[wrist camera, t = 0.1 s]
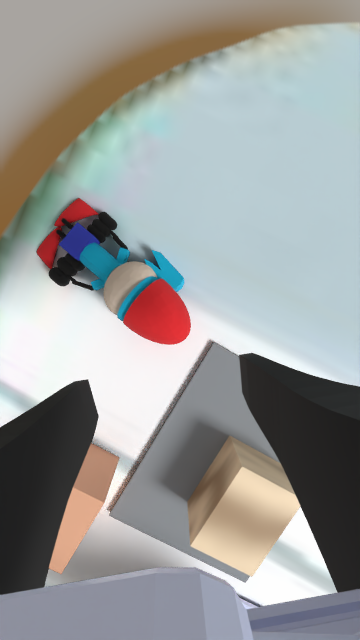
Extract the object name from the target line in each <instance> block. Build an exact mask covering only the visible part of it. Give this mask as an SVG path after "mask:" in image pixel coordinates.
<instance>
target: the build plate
mask: <svg viewBox="0 0 360 640" xmlns="http://www.w3.org/2000/svg"><path fill="white" fill-rule="evenodd" d="M229 436H232V437H233V438H235V439H237V440H239V441H241V442H243V443H244V444H246V445H248V446H250V447H252V448H254V449H255V450H257V451H259V452H261V453H263V454H264V455H266V456H268V457H270V458H272V459H274V460H275V461H277V462H279V463H280V461H279V460H278V458H277V456H276V454H275V452H274V451H273V449H272V447H271V446H270V444H269V442H268V441H267V439H266V437H265V436H264V434H263V432H262V431H261V429H260V427H259V426H258V424H257V422H256V421H255V419H254V417H253V415H252V414H251V412H250V410H249V408H248V405H247V403H246V401H245V398H244V396H243V393H242V384H241V372H240V361H239V356H237V355H235V354H234V353H232V352H230V351H228V350H227V349H225V348H223V347H221V346H220V345H218V344H216V343H215V342H213V344H212V345H211V347H210V349H209V350H208V352H207V353H206V355H205V357H204V358H203V360H202V362H201V363H200V365H199V367H198V368H197V370H196V372H195V373H194V375H193V377H192V378H191V380H190V381H189V383H188V385H187V386H186V388H185V390H184V391H183V393H182V395H181V396H180V398H179V400H178V401H177V403H176V404H175V406H174V408H173V409H172V411H171V413H170V414H169V416H168V418H167V419H166V421H165V423H164V424H163V426H162V428H161V429H160V431H159V432H158V434H157V436H156V437H155V439H154V441H153V442H152V444H151V446H150V447H149V449H148V451H147V452H146V454H145V455H144V457H143V459H142V460H141V462H140V464H139V465H138V467H137V469H136V470H135V472H134V474H133V475H132V477H131V479H130V480H129V482H128V483H127V485H126V487H125V488H124V490H123V492H122V493H121V495H120V497H119V498H118V500H117V502H116V503H115V505H114V506H113V508H112V510H111V511H110V514H109V516H111V517H113V518H115V519H117V520H119V521H121V522H123V523H125V524H127V525H129V526H131V527H133V528H135V529H137V530H139V531H141V532H143V533H145V534H147V535H149V536H151V537H154V538H156V539H158V540H160V541H162V542H164V543H166V544H168V545H170V546H172V547H174V548H176V549H178V550H180V551H182V552H184V553H186V554H188V555H190V556H192V557H194V558H196V559H198V560H200V561H202V562H204V563H206V564H208V565H210V566H212V567H214V568H217V569H219V570H221V571H223V572H225V573H227V574H229V575H231V576H233V577H235V578H237V579H239V580H241V581H243V582H245V583H246V581H247V580H248V578H249V577H250V576H249V575H247V574H245V573H243V572H241V571H239V570H237V569H235V568H233V567H231V566H229V565H227V564H225V563H223V562H221V561H219V560H217V559H215V558H213V557H211V556H209V555H207V554H205V553H203V552H201V551H199V550H197V549H195V548H193V547H191V546H190V534H189V519H188V505H187V502H188V500H189V498H190V497H191V495H192V494H193V492H194V491H195V489H196V487H197V486H198V484H199V483H200V481H201V480H202V478H203V476H204V475H205V473H206V472H207V470H208V469H209V467H210V465H211V464H212V462H213V461H214V459H215V458H216V456H217V454H218V453H219V451H220V450H221V448H222V447H223V445H224V443H225V442H226V440H227V439H228V437H229Z"/></svg>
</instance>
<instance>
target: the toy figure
mask: <svg viewBox="0 0 360 640" xmlns="http://www.w3.org/2000/svg"><path fill="white" fill-rule="evenodd" d="M92 215H99V219H95V220H93V222H92V224H91V225H89V226H88V227H87V230H86V229H85V228H84V227H83V226H82V225H80V224H79V223H78V222H77V223H76V224H75V226H73V225H72V224H71V223H72V222H75V221H78V220H80V219H83V218H86V217H89V216H92ZM64 225H66V226H67V227H68V228H70V229H71V230H70V231H69V232H68V234H67V235H65V234H64V233H63V232H62V228H61V226H64ZM54 226H59V227H57V228H56V229H55V230H53V231H52V232H51V233H50V234H49V235H48V236H47V237H46V239H45V240H44V241H43V242H42V244H41V245H40V246H39V248H38V249H37V254H38V256H39V257H40V258H41V259H42V261H43V262H44V263H45V264H46V265H47V266H48V267H49V268H50V271H49V277H50V278H51V279H52V280H53V281H54V282H55V283H57V284H58V285H60V286H66V285H68V284H69V282H70V280H71V281H72V283H73V284H75V285H78V286H81V287H84V288H87V289H90V290H99V289H101V288H104V292H103V294H104V300H105V303H106V305H107V307H108V308H109V309H110V311H111V312H113V313H114V314H116V315H118V318H119V319H120V320H121V321H123V323H124V324H125V325H126V326H127V327H128V328H129V329H131V330H132V331H134V332H135V333H137V334H138V335H140V336H142V337H144V338H146V339H148V340H151V341H153V342H157V343H160V344H177V343H180V342H182V341H183V340H185V339H186V337H187V336H188V335H189V332H190V327H191V323H190V317H189V313H188V311H187V308H186V306H185V304H184V302H183V301H182V299H181V298H180V296H179V295H178V294H177V293H176V292H178V291H179V290H180V289H181V288H182V287H183V285H184V278H183V277H182V275H181V274H180V273H179V272H178V271H177V270H176V269H175V268H174V267H173V266H172V265H171V264H170V263H169V261H168V260H167V259H166V258H165V257H164V256H163V255H162V254H161V253H160V252H157V251H153V250H152V252H153V254H154V256H155V259H156V261H157V263H158V265H159V267H160V269H161V270H160V269H159V268H157V267H156V266H155V265H154V264H153V263H151V262H149V261H147V260H146V259H145V263H146V264H145V263H142V262H137V261H134V262H127V260H128V257H129V254H130V252H129V251H128V248H127V246H126V245H125V244H124V243H123V242H122V241H121V240H120V239H119V238H118V236H117V235H116V234H115V233H114V232H113V231H112V230H115V229H116V228H117V223H116V221H115V220H114V219H112V218H111V217H110V216H109V215H108V214H107V213H106V212H101V213H100V214H98V213H97V212H96V211H95V210H94V209H93V208H91V207H90V206H89V205H88V204H86V203H85V202H84V201H83V200H81V199H80V198H78V199H77V200H75V201H74V202H73V203H72V204H70V205H69V206H68V207H67V208H66V209H65V210H64V211H63V212H62V214H61V215H60V216H59V218H58V219H57V221H56V222H55V224H54ZM110 234H111V235H112V236H113V239H114V240H115V241H116V243H117V244H118V245H119V246H120V250H119V253H118V256H117V258H114V257H113V256H112V255H111V254H110V253H108V252H107V251H106V250H105V249H104V248H102V247H101V246H100V245H99V244H100V243H102V242H104V241H105V239H106V237H108V236H109V235H110ZM60 237H62V238H63V240H62V241H61V242H60V243H59V241H60ZM58 244H59V245H60V246H61V247H62V248H63V249H64V250H66V251H67V252H68V253H67V254H66V256H65V257H62V258H59V259H58V261H57V266H58V268H57V267H54V268H52V264H53V261H54V258H55V254H56V251H57V247H58ZM85 267H87V268H88V269H89V270H90V271H91V272H93V273H94V274H95V275H96V276H97V277H98V278H100V279H97V280H95V281H92V282H91V284H92V286H90V285H87V284H84V283H81V282H78V281H76V280H75V279H74V278H72V277H71V276H74V275H76V274H77V272H78V271H81V270H83V269H84V268H85Z"/></svg>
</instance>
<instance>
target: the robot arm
mask: <svg viewBox="0 0 360 640" xmlns="http://www.w3.org/2000/svg"><path fill="white" fill-rule="evenodd" d="M239 361H240V372H241V384H242V393H243V396H244V398H245V401H246V403H247V405H248V408H249V410H250V412H251V414H252V415H253V417H254V419H255V421H256V422H257V424H258V426H259V427H260V429H261V431H262V432H263V434H264V436H265V437H266V439H267V441H268V442H269V444H270V446H271V447H272V449H273V451H274V452H275V454H276V456H277V458H278V460H279V461H280V463H281V465H282V467H283V469H284V472H285V474H286V476H287V478H288V480H289V482H290V484H291V486H292V488H293V491H294V493H295V495H296V497H297V499H298V502H299V504H300V506H301V508H302V510H303V513H304V515H305V517H306V519H307V521H308V524H309V526H310V528H311V531H312V533H313V535H314V538H315V540H316V542H317V545H318V547H319V549H320V551H321V554H322V556H323V558H324V561H325V563H326V566H327V568H328V570H329V573H330V575H331V578H332V580H333V582H334V585H335V587H336V590H337V592H338V593H334V594H328V595H322V596H317V597H311V598H306V599H300V600H295V601H289V602H284V603H278V604H273V605H267V606H261V607H257V606H255V605H253V604H251V603H249V602H247V601H245V600H243V599H241V598H239V597H238V595H237V593H236V591H235V590H234V588H233V587H232V586H231V585H230V584H228V583H227V582H226V581H225V580H223V579H220V578H218V577H216V576H214V575H211V574H209V573H207V572H204V571H202V570H200V569H198V568H159V567H157V568H152V569H146V570H140V571H135V572H129V573H123V574H118V575H112V576H106V577H100V578H95V579H89V580H83V581H78V582H72V583H66V584H61V585H55V586H49V587H44V585H45V581H46V577H47V573H48V569H49V565H50V561H51V558H52V554H53V551H54V547H55V543H56V540H57V536H58V533H59V529H60V526H61V522H62V519H63V516H64V513H65V509H66V506H67V503H68V500H69V497H70V494H71V491H72V489H73V486H74V484H75V481H76V479H77V476H78V474H79V471H80V469H81V467H82V464H83V462H84V459H85V457H86V454H87V452H88V449H89V447H90V444H91V442H92V439H93V436H94V433H95V429H96V425H97V421H98V413H97V409H96V406H95V402H94V399H93V395H92V392H91V388H90V385H89V381H88V379H87V380H81V381H75V382H73V383H71V384H69V385H67V386H66V387H64V388H62V389H61V390H59V391H58V392H56V393H54V394H53V395H51V396H50V397H48V398H47V399H45V400H44V401H42V402H41V403H39V404H38V405H36V406H35V407H33V408H31V409H30V410H28V411H27V412H25V413H23V414H22V415H20V416H18V417H17V418H15V419H14V420H12V421H10V422H9V423H7V424H5V425H3V426H2V427H0V640H360V387H358V386H353V385H348V384H343V383H339V382H335V381H331V380H327V379H323V378H319V377H316V376H313V375H309V374H306V373H303V372H300V371H297V370H295V369H292V368H289V367H287V366H284V365H282V364H279V363H277V362H274V361H272V360H269V359H267V358H264V357H262V356H259V355H257V354H254V353H249V354H243V355H239Z"/></svg>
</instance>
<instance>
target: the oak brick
mask: <svg viewBox="0 0 360 640" xmlns="http://www.w3.org/2000/svg"><path fill="white" fill-rule="evenodd" d="M187 505H188V519H189V534H190V546H191V547H193V548H195V549H197V550H199V551H201V552H203V553H205V554H207V555H209V556H211V557H213V558H215V559H217V560H219V561H221V562H223V563H225V564H227V565H229V566H231V567H233V568H235V569H237V570H239V571H241V572H243V573H245V574H247V575H249V576H251V577H252V576H253V575H254V573H255V572H256V570H257V569H258V567H259V566H260V565H261V563H262V562H263V560H264V559H265V557H266V556H267V554H268V553H269V551H270V550H271V548H272V547H273V545H274V544H275V543H276V541H277V540H278V538H279V537H280V535H281V534H282V532H283V531H284V529H285V528H286V526H287V525H288V524H289V522H290V521H291V519H292V518H293V516H294V515H295V513H296V512H297V510H298V509H299V507H300V504H299V502H298V499H297V497H296V495H295V493H294V491H293V488H292V486H291V484H290V482H289V480H288V478H287V476H286V474H285V472H284V469H283V467H282V465H281V463H279V462H277V461H275V460H274V459H272V458H270V457H268V456H266V455H264V454H263V453H261V452H259V451H257V450H255V449H254V448H252V447H250V446H248V445H246V444H244V443H243V442H241V441H239V440H237V439H235V438H233V437H232V436H229V437H228V439H227V440H226V442H225V443H224V445H223V447H222V448H221V450H220V451H219V453H218V454H217V456H216V458H215V459H214V461H213V462H212V464H211V465H210V467H209V469H208V470H207V472H206V473H205V475H204V476H203V478H202V480H201V481H200V483H199V484H198V486H197V487H196V489H195V491H194V492H193V494H192V495H191V497H190V498H189V500H188V502H187Z"/></svg>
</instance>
